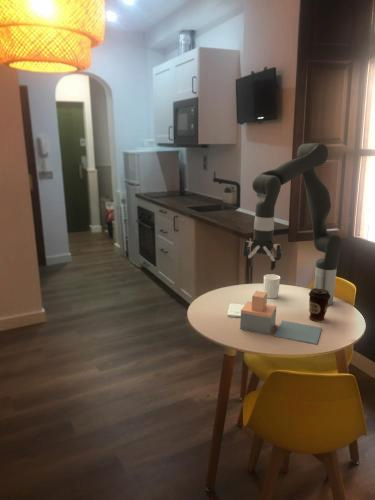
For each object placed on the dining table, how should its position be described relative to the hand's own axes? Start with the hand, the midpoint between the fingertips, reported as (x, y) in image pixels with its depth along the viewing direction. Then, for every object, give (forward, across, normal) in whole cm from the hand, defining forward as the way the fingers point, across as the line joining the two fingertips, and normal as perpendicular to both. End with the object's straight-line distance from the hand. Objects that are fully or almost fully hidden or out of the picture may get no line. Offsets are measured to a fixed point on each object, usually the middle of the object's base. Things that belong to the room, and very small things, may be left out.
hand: (261, 268), depth 162 cm
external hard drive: (+26, +12, -11) cm, 31 cm away
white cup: (+25, +3, -36) cm, 44 cm away
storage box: (+25, 0, 0) cm, 25 cm away
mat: (+25, -16, -2) cm, 30 cm away
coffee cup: (+25, -21, -18) cm, 37 cm away
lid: (+19, 0, 0) cm, 19 cm away
